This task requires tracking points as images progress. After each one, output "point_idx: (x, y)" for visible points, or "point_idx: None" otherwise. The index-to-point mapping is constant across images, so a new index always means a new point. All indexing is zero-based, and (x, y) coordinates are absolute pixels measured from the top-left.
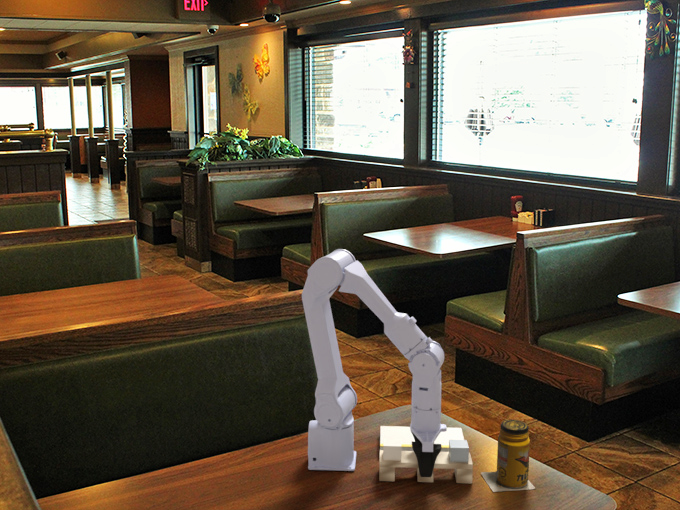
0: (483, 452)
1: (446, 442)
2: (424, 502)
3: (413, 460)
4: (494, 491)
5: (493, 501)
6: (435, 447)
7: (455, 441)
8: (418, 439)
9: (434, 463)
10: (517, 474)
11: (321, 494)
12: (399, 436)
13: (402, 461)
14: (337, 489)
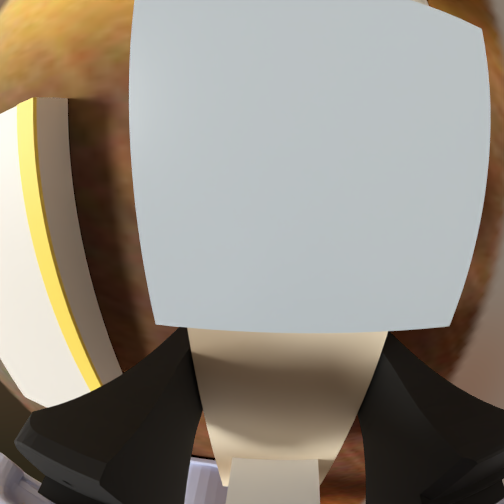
0: (36, 35)
1: (6, 208)
2: (471, 316)
3: (322, 432)
4: (425, 1)
5: (488, 42)
6: (497, 466)
7: (217, 223)
8: (181, 471)
9: (425, 364)
10: None
11: (352, 481)
12: (43, 375)
13: (326, 456)
14: (339, 472)
